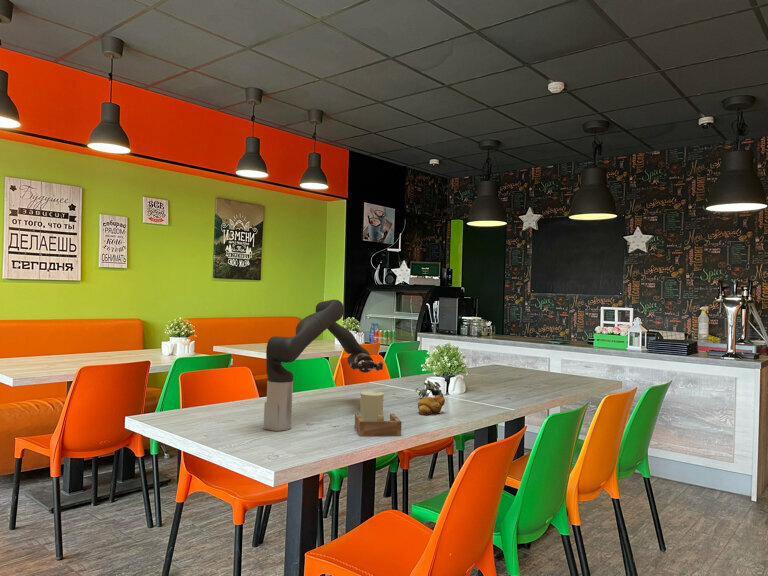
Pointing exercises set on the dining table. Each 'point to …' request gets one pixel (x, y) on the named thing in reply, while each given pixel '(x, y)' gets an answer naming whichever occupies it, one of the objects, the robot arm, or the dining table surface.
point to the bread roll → (431, 404)
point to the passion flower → (430, 389)
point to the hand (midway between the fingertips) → (369, 368)
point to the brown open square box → (378, 426)
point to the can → (371, 405)
